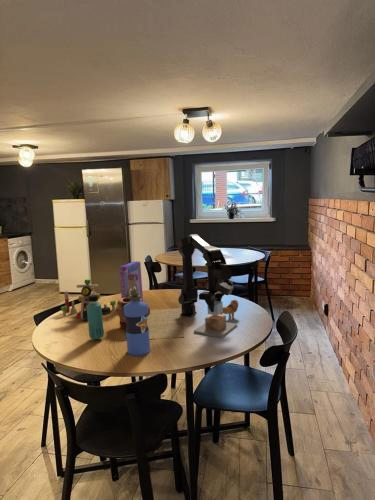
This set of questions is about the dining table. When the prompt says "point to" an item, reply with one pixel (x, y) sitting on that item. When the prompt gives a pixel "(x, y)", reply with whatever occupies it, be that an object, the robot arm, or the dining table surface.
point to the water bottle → (137, 325)
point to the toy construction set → (85, 301)
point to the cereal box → (130, 279)
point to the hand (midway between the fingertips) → (215, 310)
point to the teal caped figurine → (95, 318)
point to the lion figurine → (231, 308)
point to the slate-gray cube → (216, 308)
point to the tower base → (216, 333)
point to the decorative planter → (120, 311)
